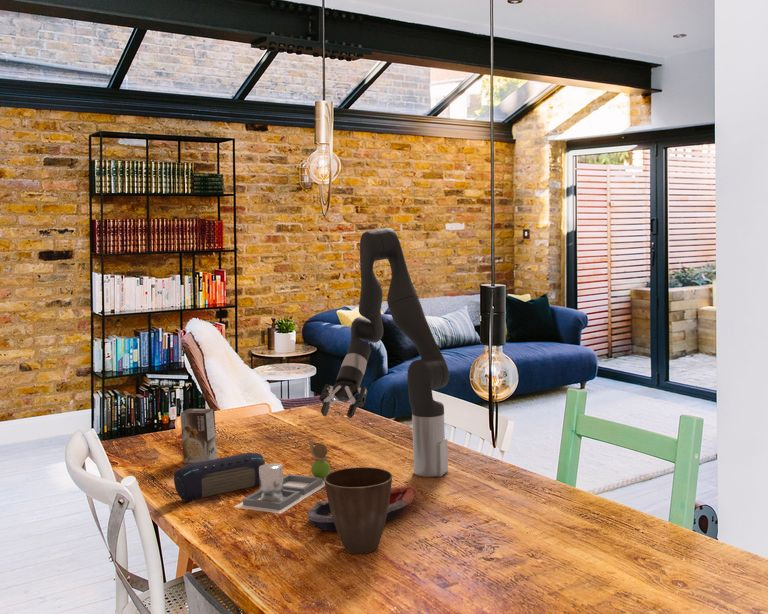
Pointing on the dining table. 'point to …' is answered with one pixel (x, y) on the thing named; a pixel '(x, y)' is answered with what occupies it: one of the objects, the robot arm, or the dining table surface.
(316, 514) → the dish
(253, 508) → the compartment tray
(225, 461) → the portable speaker
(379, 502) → the plant pot
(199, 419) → the coffee box
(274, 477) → the silver metal cylinder
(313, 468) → the snail figurine
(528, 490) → the dining table surface
